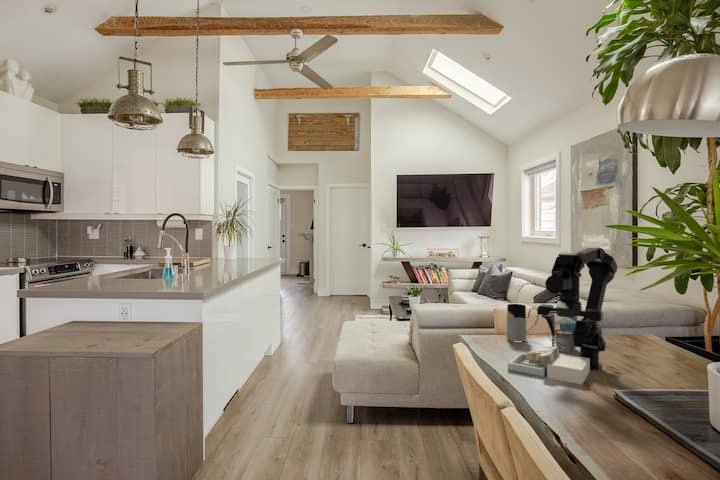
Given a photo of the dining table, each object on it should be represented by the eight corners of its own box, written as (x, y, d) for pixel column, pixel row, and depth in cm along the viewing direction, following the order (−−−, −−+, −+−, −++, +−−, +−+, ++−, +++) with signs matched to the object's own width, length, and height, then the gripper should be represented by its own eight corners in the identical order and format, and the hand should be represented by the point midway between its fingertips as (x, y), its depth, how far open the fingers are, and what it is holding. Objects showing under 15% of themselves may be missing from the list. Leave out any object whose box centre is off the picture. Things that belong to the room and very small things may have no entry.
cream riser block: (557, 366, 147) (557, 353, 147) (589, 371, 141) (589, 358, 141) (547, 378, 135) (547, 364, 135) (582, 384, 129) (582, 370, 129)
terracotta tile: (543, 356, 148) (543, 363, 148) (530, 354, 151) (530, 361, 151) (540, 359, 144) (540, 367, 144) (526, 357, 147) (526, 364, 147)
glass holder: (502, 337, 187) (502, 303, 186) (533, 336, 188) (533, 303, 187) (510, 342, 178) (510, 307, 178) (543, 342, 179) (543, 306, 179)
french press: (564, 363, 150) (564, 293, 149) (539, 354, 161) (539, 289, 160) (584, 360, 154) (585, 291, 153) (558, 351, 164) (559, 288, 164)
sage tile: (539, 362, 142) (539, 369, 142) (525, 359, 145) (525, 366, 145) (535, 365, 138) (535, 373, 138) (521, 363, 141) (521, 370, 141)
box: (520, 359, 154) (520, 352, 154) (554, 365, 147) (554, 358, 147) (507, 370, 142) (507, 363, 142) (543, 377, 135) (543, 369, 135)
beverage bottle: (580, 351, 164) (581, 300, 164) (563, 351, 164) (563, 300, 164) (572, 347, 171) (573, 298, 170) (556, 347, 171) (556, 298, 170)
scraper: (559, 353, 146) (535, 354, 150) (557, 346, 146) (534, 347, 151) (550, 363, 135) (524, 364, 139) (548, 355, 135) (523, 357, 140)
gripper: (533, 291, 136) (532, 339, 137) (598, 296, 125) (598, 348, 126) (541, 287, 145) (541, 332, 146) (603, 292, 134) (602, 341, 134)
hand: (569, 338), depth 138 cm, fingers open, 9 cm apart
